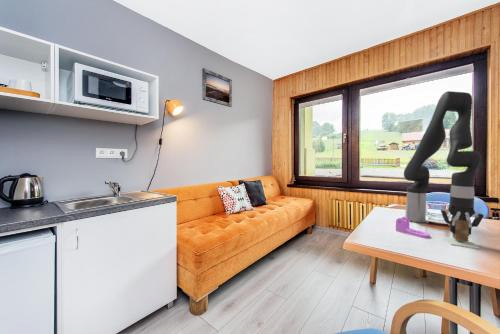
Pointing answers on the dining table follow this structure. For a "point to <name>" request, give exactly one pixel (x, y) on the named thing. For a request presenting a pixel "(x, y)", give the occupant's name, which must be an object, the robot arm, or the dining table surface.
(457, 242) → the mat
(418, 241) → the dining table surface
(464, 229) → the walnut block
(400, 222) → the bracket
